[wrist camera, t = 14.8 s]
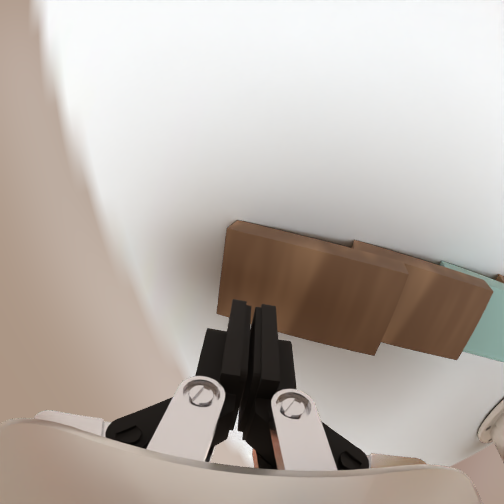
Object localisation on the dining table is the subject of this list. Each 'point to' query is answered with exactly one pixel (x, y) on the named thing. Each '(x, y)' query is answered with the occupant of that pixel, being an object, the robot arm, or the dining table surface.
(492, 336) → the domino
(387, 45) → the dining table surface
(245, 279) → the domino
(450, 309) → the domino
